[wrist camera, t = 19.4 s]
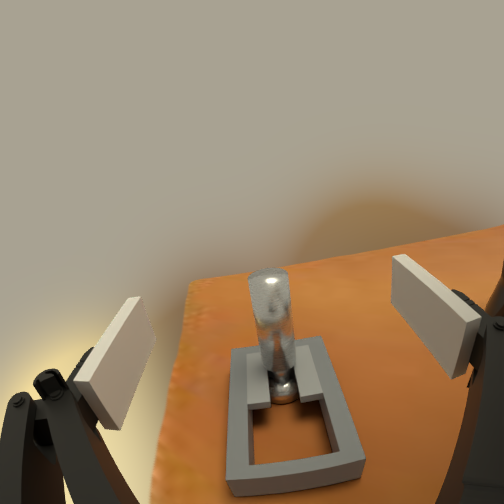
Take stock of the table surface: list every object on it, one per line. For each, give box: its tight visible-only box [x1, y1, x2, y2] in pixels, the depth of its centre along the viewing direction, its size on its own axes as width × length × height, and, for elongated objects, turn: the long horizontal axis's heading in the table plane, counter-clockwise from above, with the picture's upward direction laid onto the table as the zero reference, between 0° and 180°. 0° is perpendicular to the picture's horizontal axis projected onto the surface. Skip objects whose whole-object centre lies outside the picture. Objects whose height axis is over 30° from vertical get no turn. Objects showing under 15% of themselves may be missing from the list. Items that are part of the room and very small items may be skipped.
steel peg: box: [248, 268, 300, 404], centre depth 33 cm, size 5×5×16 cm
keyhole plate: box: [226, 336, 366, 497], centre depth 30 cm, size 20×12×4 cm, turn 1°
